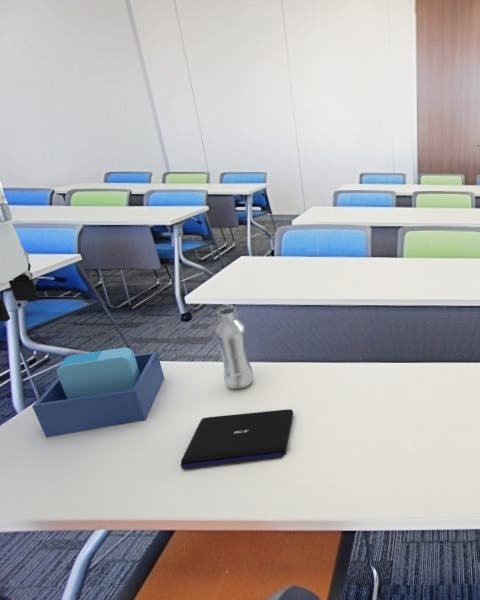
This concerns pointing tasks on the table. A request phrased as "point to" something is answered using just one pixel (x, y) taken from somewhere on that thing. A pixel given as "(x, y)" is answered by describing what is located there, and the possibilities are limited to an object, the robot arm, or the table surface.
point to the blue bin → (100, 403)
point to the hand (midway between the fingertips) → (13, 310)
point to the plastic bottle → (233, 349)
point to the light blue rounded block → (98, 373)
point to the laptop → (239, 438)
